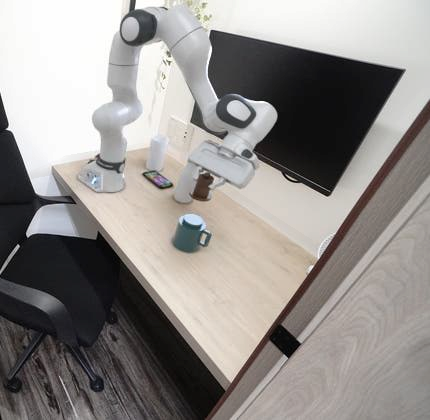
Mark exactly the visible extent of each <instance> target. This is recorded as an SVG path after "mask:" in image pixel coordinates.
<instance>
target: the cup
mask: <svg viewBox="0 0 430 420" xmlns="http://www.w3.org/2000/svg"><path fill="white" fill-rule="evenodd" d="M169 141H170V138H169V137H168V136H166V135H163V134H154V135H152V136H151V138H150V143H149V147H148V152H147V158H146V162H145V169H147V170H148V171H153V170H155V171H157V172H161V171H162V170H163V167H164V164H165V163H164V162H165V159H166V153H167V150H168V146H169V143H170V142H169Z"/></svg>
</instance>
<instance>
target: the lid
mask: <svg viewBox="0 0 430 420" xmlns="http://www.w3.org/2000/svg"><path fill="white" fill-rule="evenodd" d="M214 181H215V176H214V175H212V174H210V173H208V172H207V171H205V172H204V173H200V175H199V176H198V179H197V182H196V185H195V188H194V189H191V190H190V192H189V195H190V196H191V197H192V200H195V201H198V202H205V203H206V202H209V201H211V199H212V197H213V196H212V193H211V192H210V191H211V190H210V189H209V188H208V186H209V185H210V184H211V183H213V184H214Z"/></svg>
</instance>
